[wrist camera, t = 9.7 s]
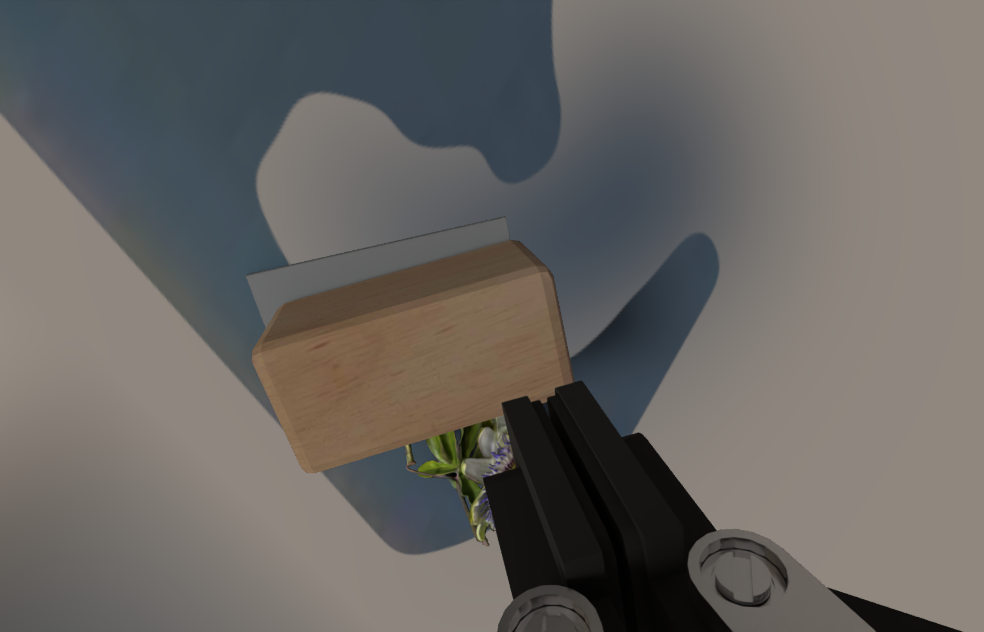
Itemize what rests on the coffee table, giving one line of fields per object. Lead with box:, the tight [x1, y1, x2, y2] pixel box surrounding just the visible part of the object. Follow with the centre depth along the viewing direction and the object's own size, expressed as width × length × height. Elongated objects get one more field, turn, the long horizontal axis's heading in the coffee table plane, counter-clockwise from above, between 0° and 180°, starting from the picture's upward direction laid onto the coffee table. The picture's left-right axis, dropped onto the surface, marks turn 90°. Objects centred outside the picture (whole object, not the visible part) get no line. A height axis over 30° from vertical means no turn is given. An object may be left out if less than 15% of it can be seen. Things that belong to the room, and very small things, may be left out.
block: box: [252, 240, 574, 473], centre depth 39 cm, size 10×10×20 cm
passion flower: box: [405, 415, 516, 546], centre depth 46 cm, size 11×11×12 cm
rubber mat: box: [246, 216, 510, 328], centre depth 43 cm, size 12×20×1 cm, turn 101°
